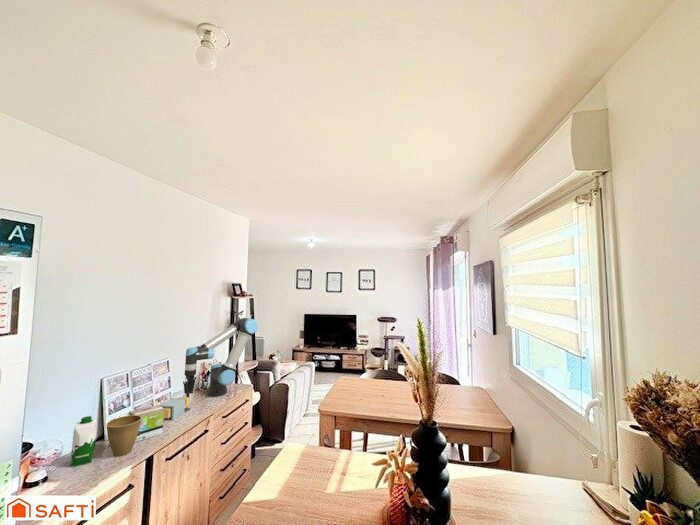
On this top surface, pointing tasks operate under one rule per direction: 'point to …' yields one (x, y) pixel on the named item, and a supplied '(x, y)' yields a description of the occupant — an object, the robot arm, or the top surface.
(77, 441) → the milk carton
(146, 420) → the tea box
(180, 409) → the tunnel
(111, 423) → the plant pot
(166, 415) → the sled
